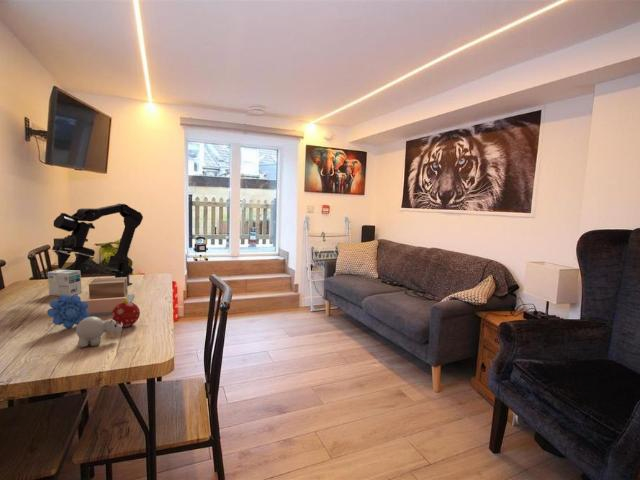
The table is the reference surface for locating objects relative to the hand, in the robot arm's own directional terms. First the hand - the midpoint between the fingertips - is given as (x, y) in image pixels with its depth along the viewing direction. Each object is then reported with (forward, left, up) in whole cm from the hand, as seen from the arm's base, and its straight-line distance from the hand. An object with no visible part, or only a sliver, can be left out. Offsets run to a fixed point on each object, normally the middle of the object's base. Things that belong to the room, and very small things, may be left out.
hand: (66, 269), depth 144 cm
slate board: (+5, +24, -13) cm, 28 cm away
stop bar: (+15, +29, -13) cm, 35 cm away
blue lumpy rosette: (+30, +29, -13) cm, 44 cm away
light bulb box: (-6, -8, -13) cm, 17 cm away
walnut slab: (+4, +23, -10) cm, 25 cm away
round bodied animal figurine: (+38, +47, -13) cm, 62 cm away
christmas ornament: (+24, +45, -13) cm, 53 cm away
